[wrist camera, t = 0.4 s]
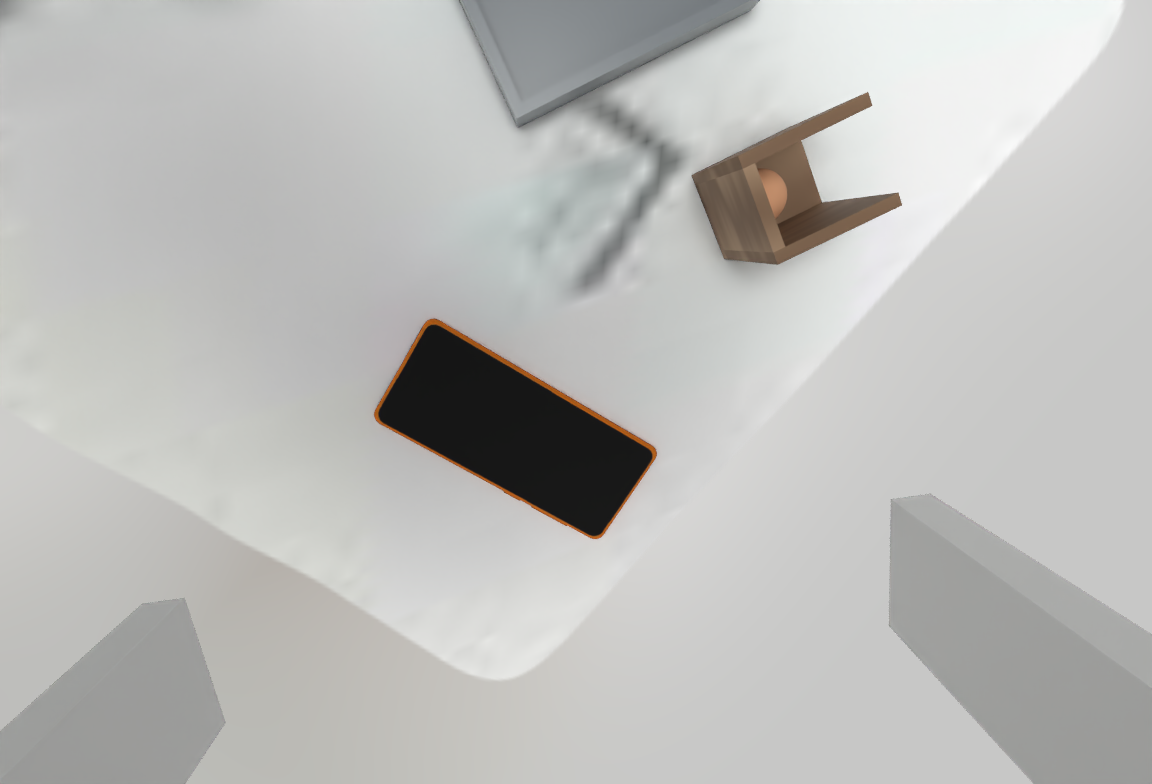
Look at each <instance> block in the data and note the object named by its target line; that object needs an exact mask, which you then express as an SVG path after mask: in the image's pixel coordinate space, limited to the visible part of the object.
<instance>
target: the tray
mask: <svg viewBox="0 0 1152 784" xmlns="http://www.w3.org/2000/svg"><path fill="white" fill-rule="evenodd" d="M459 1H460V3H461V5H462V8H463V10H464V12H465V14H466V16H467V18H468V21H469V23H470V25H471V27H472V29H473V31H474V34H475V36H476V38H477V40H478V42H479V45H480V47H481V49H482V51H483V53H484V55H485V58H486V60H487V62H488V64H489V66H490V68H491V71H492V73H493V75H494V77H495V79H496V81H497V84H498V86H499V88H500V90H501V92H502V95H503V97H504V99H505V101H506V103H507V105H508V108H509V110H510V112H511V114H512V116H513V118H514V121H515V123H516V125H517V127H520V126H522V125H524V124H526V123H528V122H530V121H532V120H534V119H536V118H538V117H540V116H542V115H544V114H546V113H548V112H550V111H552V110H554V109H556V108H558V107H560V106H562V105H564V104H566V103H568V102H570V101H572V100H574V99H576V98H578V97H580V96H582V95H584V94H586V93H588V92H590V91H592V90H594V89H596V88H598V87H600V86H602V85H604V84H606V83H608V82H610V81H612V80H614V79H616V78H618V77H620V76H622V75H623V74H625V73H627V72H629V71H631V70H633V69H635V68H637V67H639V66H641V65H643V64H645V63H647V62H649V61H651V60H653V59H655V58H657V57H659V56H661V55H663V54H665V53H667V52H669V51H671V50H673V49H675V48H677V47H679V46H681V45H683V44H685V43H687V42H689V41H691V40H693V39H695V38H697V37H699V36H701V35H703V34H705V33H707V32H709V31H711V30H713V29H715V28H717V27H719V26H721V25H723V24H725V23H727V22H729V21H731V20H733V19H735V18H737V17H739V16H741V15H743V14H745V13H747V12H749V11H750V10H751V9H752V8H753V7H754V6H755V5H756V4H757V3H758V2H759V1H760V0H459Z"/></svg>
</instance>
